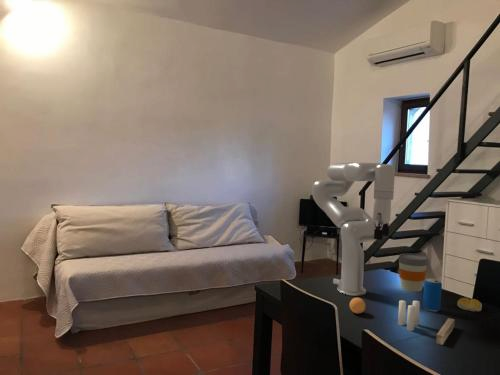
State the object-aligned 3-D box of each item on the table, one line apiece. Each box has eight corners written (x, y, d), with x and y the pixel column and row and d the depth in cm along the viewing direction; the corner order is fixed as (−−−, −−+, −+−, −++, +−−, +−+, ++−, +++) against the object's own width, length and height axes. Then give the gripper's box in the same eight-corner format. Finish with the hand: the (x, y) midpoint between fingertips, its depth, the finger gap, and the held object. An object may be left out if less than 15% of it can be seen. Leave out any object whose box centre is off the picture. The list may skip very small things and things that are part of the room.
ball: (346, 313, 167) (347, 298, 167) (352, 309, 172) (353, 294, 172) (361, 317, 164) (362, 301, 163) (367, 312, 169) (368, 297, 168)
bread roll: (458, 303, 182) (459, 293, 182) (482, 307, 178) (483, 298, 177) (455, 309, 175) (456, 299, 175) (480, 313, 171) (481, 304, 170)
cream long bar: (436, 343, 143) (436, 334, 142) (447, 326, 157) (448, 318, 157) (442, 345, 142) (443, 336, 141) (453, 327, 156) (454, 319, 156)
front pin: (397, 324, 158) (398, 301, 157) (399, 322, 160) (400, 299, 159) (403, 326, 157) (405, 303, 156) (405, 323, 158) (407, 301, 158)
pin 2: (410, 324, 158) (411, 301, 157) (412, 322, 160) (413, 300, 159) (417, 326, 157) (418, 303, 156) (419, 324, 159) (420, 301, 158)
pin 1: (405, 329, 153) (407, 306, 152) (407, 327, 155) (409, 304, 154) (412, 331, 152) (414, 308, 151) (414, 329, 154) (416, 306, 153)
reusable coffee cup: (425, 286, 204) (427, 254, 202) (426, 294, 192) (428, 261, 190) (397, 282, 208) (398, 252, 206) (396, 290, 196) (398, 258, 195)
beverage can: (441, 313, 170) (443, 283, 169) (424, 311, 171) (426, 281, 170) (438, 307, 176) (440, 278, 175) (421, 305, 178) (423, 277, 177)
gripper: (380, 192, 182) (377, 232, 184) (367, 196, 168) (365, 239, 169) (398, 194, 178) (396, 235, 180) (387, 197, 164) (385, 242, 165)
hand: (381, 237), depth 175 cm, fingers open, 9 cm apart
